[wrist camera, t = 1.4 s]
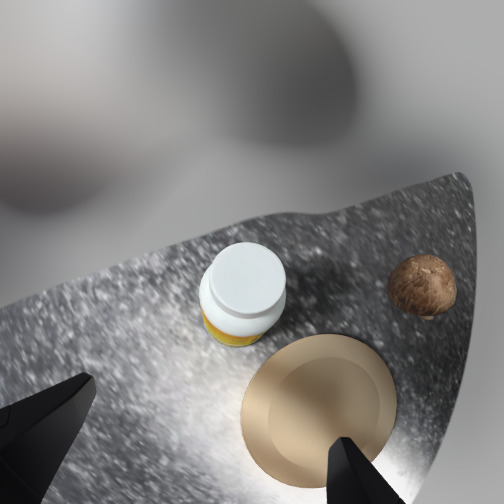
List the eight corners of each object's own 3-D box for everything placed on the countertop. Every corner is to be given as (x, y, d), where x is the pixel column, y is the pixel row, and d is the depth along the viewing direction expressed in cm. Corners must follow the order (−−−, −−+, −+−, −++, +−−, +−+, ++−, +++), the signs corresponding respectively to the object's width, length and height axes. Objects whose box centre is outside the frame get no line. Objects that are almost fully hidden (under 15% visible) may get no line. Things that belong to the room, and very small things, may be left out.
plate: (341, 501, 15) (346, 505, 14) (206, 440, 18) (205, 442, 17) (410, 377, 22) (417, 376, 21) (298, 306, 24) (302, 303, 23)
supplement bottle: (219, 278, 24) (223, 215, 16) (275, 302, 24) (311, 252, 15) (192, 332, 22) (178, 298, 13) (252, 359, 21) (279, 342, 13)
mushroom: (459, 333, 21) (477, 286, 18) (390, 345, 23) (401, 297, 20) (436, 285, 28) (445, 240, 24) (377, 292, 29) (381, 246, 26)
